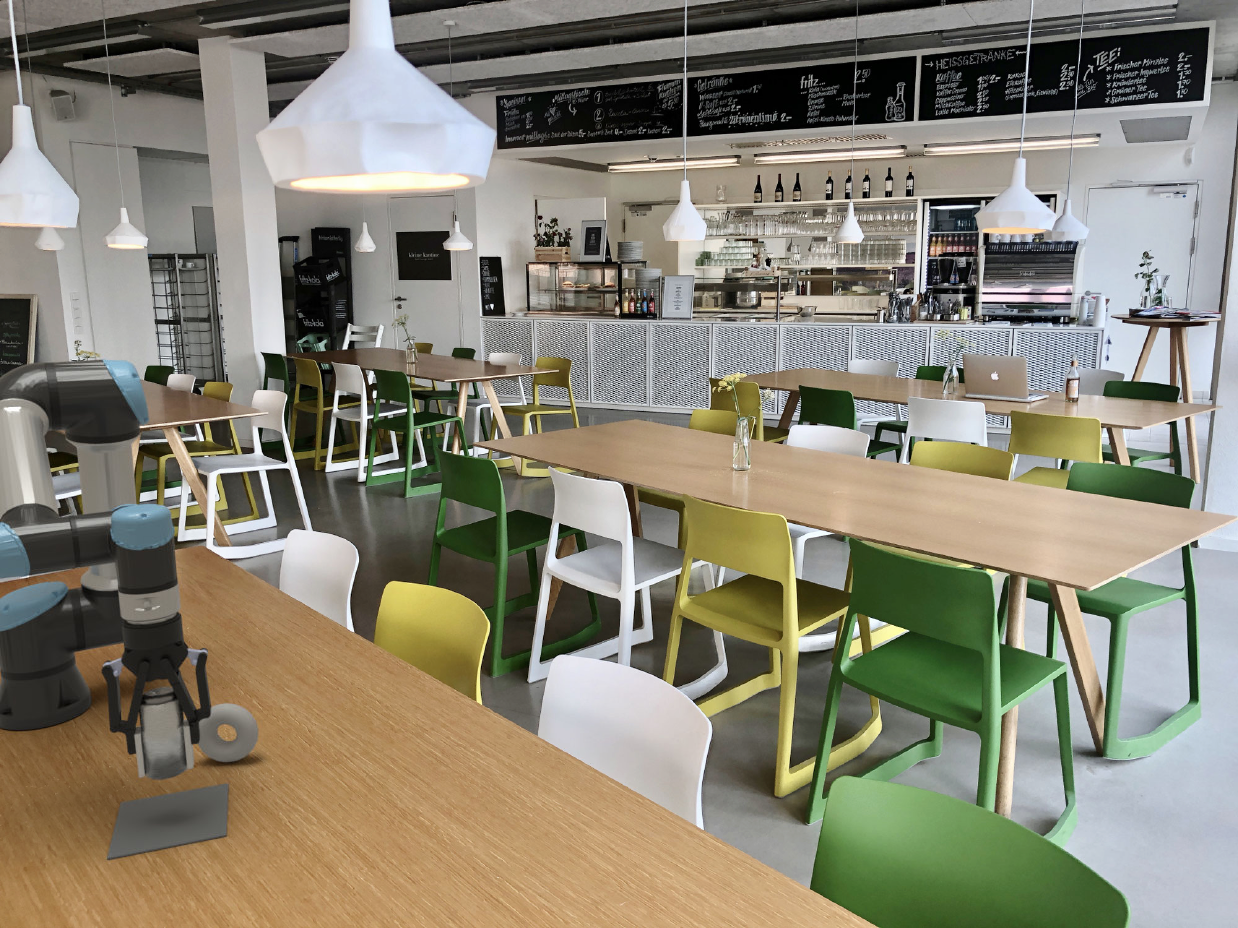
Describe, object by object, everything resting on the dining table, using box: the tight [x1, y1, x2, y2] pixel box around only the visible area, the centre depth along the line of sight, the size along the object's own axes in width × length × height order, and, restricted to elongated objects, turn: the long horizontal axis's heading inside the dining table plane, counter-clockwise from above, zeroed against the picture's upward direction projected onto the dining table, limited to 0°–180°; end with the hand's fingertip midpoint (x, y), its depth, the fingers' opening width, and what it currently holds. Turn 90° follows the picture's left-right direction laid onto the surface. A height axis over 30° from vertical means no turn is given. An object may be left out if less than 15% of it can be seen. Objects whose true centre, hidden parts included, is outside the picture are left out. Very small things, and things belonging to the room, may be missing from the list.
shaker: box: [138, 686, 188, 781], centre depth 132 cm, size 6×6×12 cm
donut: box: [197, 702, 259, 763], centre depth 151 cm, size 10×4×10 cm, turn 92°
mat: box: [106, 782, 229, 861], centre depth 135 cm, size 15×15×1 cm
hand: (167, 768), depth 133 cm, fingers closed on shaker, 6 cm apart
